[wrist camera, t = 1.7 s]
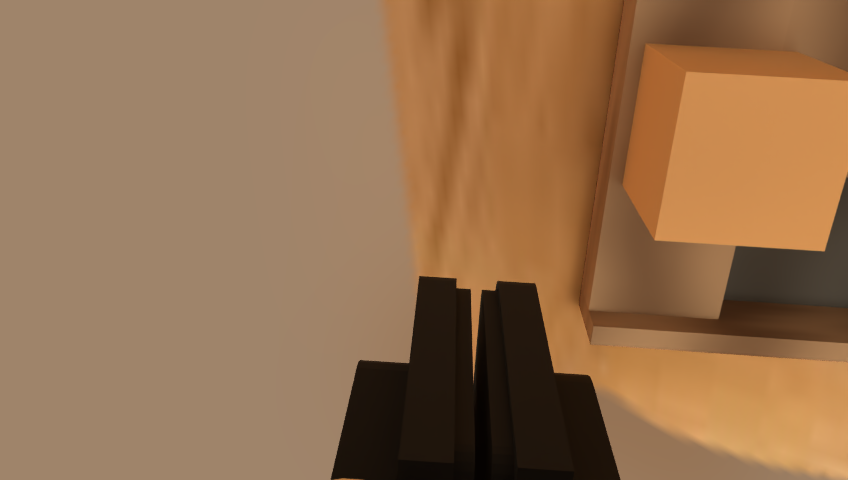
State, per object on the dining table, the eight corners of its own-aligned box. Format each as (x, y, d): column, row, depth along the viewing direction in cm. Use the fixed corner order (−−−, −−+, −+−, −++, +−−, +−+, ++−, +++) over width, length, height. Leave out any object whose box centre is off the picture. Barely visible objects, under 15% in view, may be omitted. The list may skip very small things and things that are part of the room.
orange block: (797, 51, 24) (873, 82, 20) (762, 193, 26) (824, 251, 22) (645, 43, 24) (686, 71, 20) (622, 185, 27) (654, 240, 22)
